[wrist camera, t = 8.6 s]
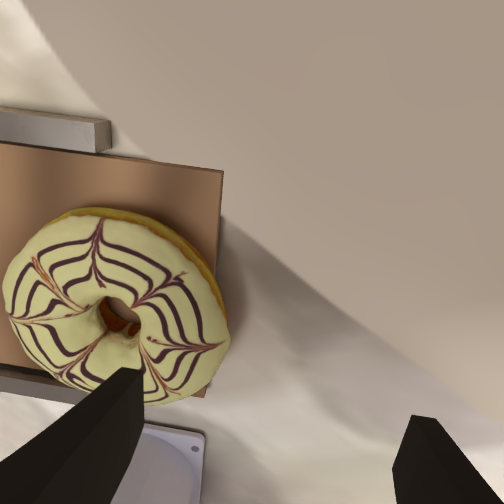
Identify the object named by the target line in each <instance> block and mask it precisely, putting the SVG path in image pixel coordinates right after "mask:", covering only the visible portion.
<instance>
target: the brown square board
mask: <svg viewBox="0 0 504 504" xmlns="http://www.w3.org/2000/svg"><path fill="white" fill-rule="evenodd" d="M223 174H224V171H222V170H215V169H208V168H200V167H193V166H185V165H178V164H170V163H163V162H156V161H148V160H141V159H133V158H126V157H119V156H111V155H104V154H96V153H89V152H82V151H74V150H67V149H59V148H52V147H45V146H37V145H30V144H22V143H15V142H8V141H0V363H5V364H11V365H16V366H22V367H28V368H34V369H39V370H45V369H43V368H42V367H41V366H40V365H38V364H37V363H36V362H34V361H33V360H32V359H31V358H30V357H29V356H28V355H27V354H26V352H25V351H24V348H23V346H22V344H21V342H20V340H19V338H18V337H17V335H16V334H15V332H14V330H13V327H12V325H11V322H10V320H9V318H8V316H7V314H6V310H5V304H6V303H5V299H4V295H3V290H2V284H3V280H4V277H5V274H6V272H7V269H8V266H9V264H10V263H11V261H12V260H13V259H14V257H15V256H16V255H18V254H19V253H20V252H21V251H22V249H23V248H24V247H25V245H26V243H27V242H28V240H29V239H30V238H31V237H33V236H34V235H35V234H37V232H38V231H39V230H40V229H41V228H42V227H44V226H45V225H46V224H48V223H49V222H51V221H52V220H54V219H56V218H58V217H60V216H61V215H63V214H64V213H67V212H68V211H71V210H74V209H78V208H87V207H102V208H112V209H117V210H125V211H131V212H134V213H138V214H141V215H145V216H148V217H151V218H154V219H155V220H157V221H159V222H160V223H162V224H164V225H167V226H168V227H169V228H170V229H173V230H174V231H175V232H176V233H178V234H179V235H180V236H182V237H183V238H184V239H185V240H187V241H188V242H189V243H190V244H191V245H192V246H194V247H195V248H196V249H197V251H198V252H199V253H200V254H201V256H202V257H203V259H204V260H205V261H206V263H207V264H208V267H209V269H210V270H211V272H212V274H213V276H214V278H215V275H216V263H217V250H218V237H219V225H220V212H221V200H222V186H223ZM106 303H107V305H108V307H109V309H110V310H111V311H112V312H113V313H114V314H115V315H116V316H117V317H119V318H120V319H122V320H125V321H127V322H129V323H130V322H133V323H134V324H136V325H140V324H141V320H140V317H139V315H138V314H137V313H136V312H134V311H133V310H131V309H130V308H129V307H128V306H127V305H126V304H125V303H124V302H123V301H122V300H121V299H119V298H116V297H110V296H107V297H106ZM45 371H46V370H45ZM206 388H207V384H206V385H205V386H203V387H202V388H201V389H200V390H199V391H197V392H196V393H194V394H192V395H190V396H195V397H200V398H204V396H205V393H206Z"/></svg>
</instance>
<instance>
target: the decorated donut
mask: <svg viewBox="0 0 504 504" xmlns="http://www.w3.org/2000/svg"><path fill="white" fill-rule="evenodd" d="M2 290H3V295H4V299H5V303H6V304H5V310H6V314H7V316H8V318H9V320H10V322H11V325H12V327H13V330H14V332H15V334H16V335H17V337H18V338H19V340H20V342H21V344H22V346H23V348H24V351H25V352H26V354H27V355H28V356H29V357H30V358H31V359H32V360H33V361H34V362H36V363H37V364H38V365H40V366H41V367H42V368H43V369H45V370H46V371H48V372H49V373H50V374H51V375H52V376H54V377H55V378H56V379H57V380H59V381H61V382H63V383H64V384H66V385H68V386H71V387H73V388H75V389H78V390H81V391H83V392H85V393H87V394H90V393H91V392H92V391H93V390H94V389H96V388H97V387H98V386H99V385H100V384H101V383H103V382H104V381H105V380H106V379H107V378H108V377H110V376H111V375H112V374H113V373H114V372H116V371H117V370H118V369H119V368H121V367H127V368H133V369H139V370H143V377H144V405H151V406H154V405H162V404H166V403H170V402H174V401H177V400H181V399H184V398H186V397H188V396H190V395H192V394H194V393H196V392H197V391H199V390H200V389H201V388H202V387H203V386H205V385H206V384H208V383H209V382H210V381H211V379H212V378H213V376H214V375H215V373H216V370H217V368H218V367H219V365H220V364H221V361H222V360H223V357H224V355H225V353H226V352H227V350H228V348H229V346H230V342H231V336H230V334H229V331H228V320H227V314H226V310H225V306H224V304H223V299H222V296H221V293H220V289H219V286H218V284H217V281H216V280H215V278H214V276H213V274H212V272H211V270H210V269H209V267H208V264H207V263H206V261H205V260H204V259H203V257H202V256H201V254H200V253H199V252H198V251H197V249H196V248H195V247H194V246H192V245H191V244H190V243H189V242H188V241H187V240H185V239H184V238H183V237H182V236H180V235H179V234H178V233H176V232H175V231H174V230H173V229H170V228H169V227H168V226H167V225H164V224H162V223H160V222H159V221H157V220H155V219H154V218H151V217H148V216H145V215H141V214H138V213H134V212H131V211H125V210H117V209H112V208H102V207H87V208H78V209H74V210H71V211H68V212H67V213H64V214H63V215H61V216H60V217H58V218H56V219H54V220H52V221H51V222H49V223H48V224H46V225H45V226H44V227H42V228H41V229H40V230H39V231H38V232H37V234H35V235H34V236H33V237H31V238H30V239H29V240H28V242H27V243H26V245H25V247H24V248H23V249H22V251H21V252H20V253H19V254H18V255H16V256H15V257H14V259H13V260H12V261H11V263H10V264H9V266H8V269H7V272H6V274H5V277H4V280H3V284H2ZM107 296H110V297H116V298H119V299H121V300H122V301H123V302H124V303H125V304H126V305H127V306H128V307H129V308H130V309H131V310H133V311H134V312H136V313H137V314H138V315H139V317H140V320H141V324H140V325H136V324H134V323H133V322H130V323H129V322H127V321H125V320H122V319H120V318H119V317H117V316H116V315H115V314H114V313H113V312H112V311H111V310H110V309H109V307H108V305H107V303H106V297H107Z"/></svg>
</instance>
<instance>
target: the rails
mask: <svg viewBox="0 0 504 504" xmlns="http://www.w3.org/2000/svg"><path fill="white" fill-rule="evenodd" d="M0 140H3V141H11V142H18V143H26V144H33V145H40V146H48V147H55V148H63V149H70V150H78V151H85V152H92V153H97V152H100V151H103V150H107V149H110V148H111V122H110V121H108V120H101V119H93V118H85V117H77V116H70V115H62V114H54V113H46V112H39V111H31V110H23V109H15V108H8V107H0ZM0 391H2V392H7V393H13V394H18V395H24V396H29V397H35V398H41V399H46V400H52V401H57V402H63V403H69V404H74V405H76V404H78V403H79V402H80V401H81V400H82V399H84V398H85V397H86V396H87V395H88V394H87V393H85V392H83V391H81V390H78V389H75V388H73V387H71V386H68V385H66V384H64V383H63V382H61V381H59V380H57V379H56V378H55V377H54V376H52V375H51V374H50V373H49V372H48V371H45V370H39V369H34V368H28V367H22V366H16V365H11V364H5V363H0Z"/></svg>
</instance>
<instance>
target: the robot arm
mask: <svg viewBox="0 0 504 504" xmlns="http://www.w3.org/2000/svg"><path fill="white" fill-rule="evenodd" d="M204 444H205V438H204V436H203V435H201V434H200V433H196V432H190V431H185V430H179V429H174V428H168V427H162V426H157V425H151V424H146V423H144V377H143V370H139V369H133V368H127V367H121V368H119V369H118V370H117V371H116V372H114V373H113V374H112V375H111V376H110V377H108V378H107V379H106V380H105V381H104V382H103V383H101V384H100V385H99V386H98V387H97V388H96V389H94V390H93V391H92V392H91V393H90V394H88V395H87V396H86V397H85V398H84V399H82V400H81V401H80V402H79V403H78V404H76V405H75V406H74V407H73V408H71V409H70V410H69V411H68V412H66V413H65V414H64V415H63V416H61V417H60V418H59V419H58V420H56V421H55V422H54V423H53V424H51V425H50V426H49V427H48V428H46V429H45V430H44V431H42V432H41V433H40V434H38V435H37V436H35V437H34V438H33V439H31V440H30V441H29V442H27V443H26V444H25V445H23V446H22V447H21V448H19V449H18V450H17V451H15V452H14V453H12V454H11V455H10V456H8V457H7V458H5V459H4V460H2V461H1V462H0V504H200V492H201V480H202V468H203V456H204ZM392 472H393V480H394V488H395V495H396V502H397V504H504V503H503V502H502V500H501V499H500V498H499V497H498V496H497V494H496V493H495V492H494V491H493V490H492V488H491V487H490V486H489V485H488V484H487V482H486V481H485V480H484V479H483V477H482V476H481V475H480V474H479V472H478V471H477V470H476V469H475V467H474V466H473V465H472V464H471V462H470V461H469V460H468V459H467V457H466V456H465V455H464V454H463V452H462V451H461V450H460V448H459V447H458V446H457V445H456V443H455V442H454V441H453V440H452V438H451V437H450V436H449V434H448V433H447V432H446V431H445V429H444V428H443V427H442V426H441V424H440V423H439V422H438V421H437V419H435V418H429V417H423V416H417V415H411V418H410V421H409V424H408V426H407V429H406V432H405V434H404V437H403V440H402V443H401V445H400V448H399V451H398V453H397V456H396V459H395V462H394V464H393V467H392Z"/></svg>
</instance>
